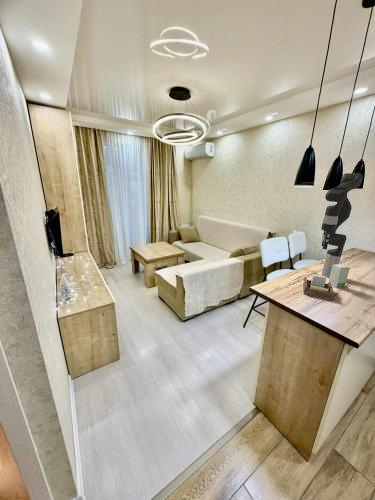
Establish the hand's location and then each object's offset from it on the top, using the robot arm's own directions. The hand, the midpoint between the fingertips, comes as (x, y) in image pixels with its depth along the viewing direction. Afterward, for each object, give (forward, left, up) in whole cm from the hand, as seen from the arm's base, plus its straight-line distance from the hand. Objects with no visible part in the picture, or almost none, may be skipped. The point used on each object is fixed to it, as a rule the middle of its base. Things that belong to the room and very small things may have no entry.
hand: (323, 247), depth 135 cm
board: (+9, 0, -27) cm, 28 cm away
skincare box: (-8, +13, -28) cm, 32 cm away
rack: (+11, 0, -28) cm, 30 cm away
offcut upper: (+15, +1, -25) cm, 29 cm away
